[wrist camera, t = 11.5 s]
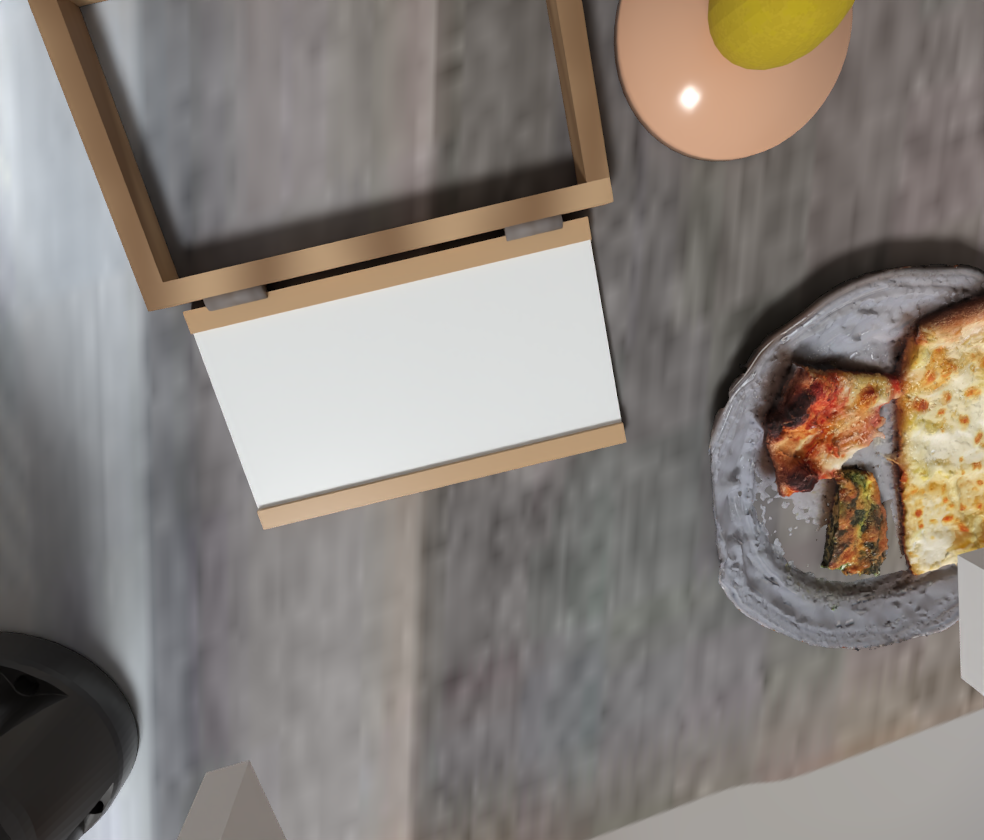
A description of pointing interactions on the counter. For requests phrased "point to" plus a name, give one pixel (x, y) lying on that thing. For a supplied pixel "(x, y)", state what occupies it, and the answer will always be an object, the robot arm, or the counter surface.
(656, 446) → the counter surface
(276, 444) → the lid
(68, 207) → the counter surface
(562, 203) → the wooden frame
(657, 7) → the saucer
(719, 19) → the lemon
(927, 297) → the food plate
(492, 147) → the counter surface
